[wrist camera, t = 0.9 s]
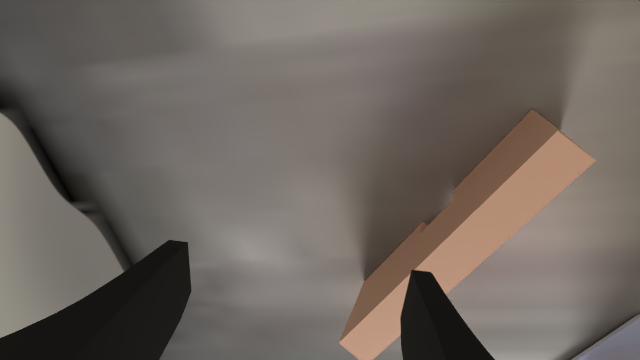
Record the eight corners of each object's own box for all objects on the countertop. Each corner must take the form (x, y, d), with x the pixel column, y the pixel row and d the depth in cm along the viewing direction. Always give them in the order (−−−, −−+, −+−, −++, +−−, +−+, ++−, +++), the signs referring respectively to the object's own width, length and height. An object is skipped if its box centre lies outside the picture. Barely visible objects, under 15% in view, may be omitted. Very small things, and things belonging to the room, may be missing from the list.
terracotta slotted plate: (532, 108, 24) (557, 130, 18) (560, 130, 24) (596, 160, 18) (364, 281, 31) (339, 342, 24) (385, 299, 31) (365, 365, 24)
